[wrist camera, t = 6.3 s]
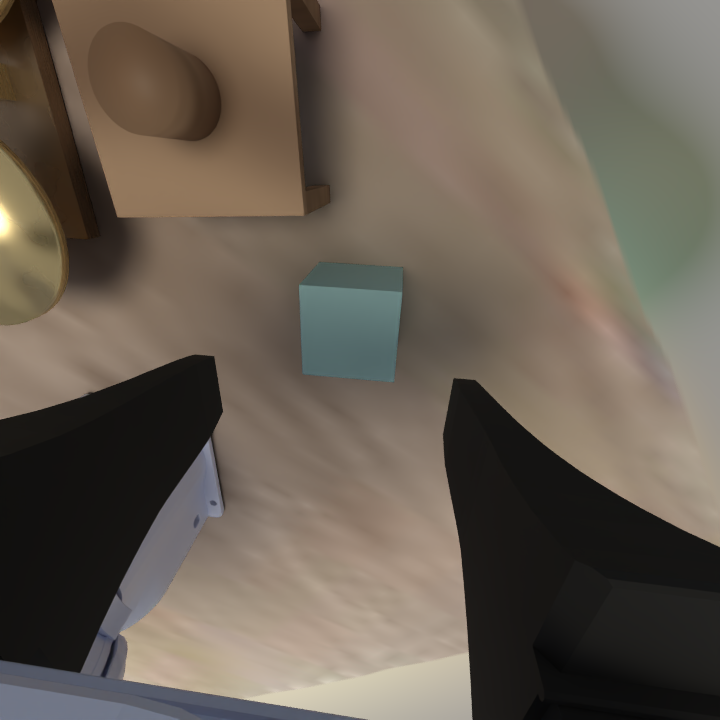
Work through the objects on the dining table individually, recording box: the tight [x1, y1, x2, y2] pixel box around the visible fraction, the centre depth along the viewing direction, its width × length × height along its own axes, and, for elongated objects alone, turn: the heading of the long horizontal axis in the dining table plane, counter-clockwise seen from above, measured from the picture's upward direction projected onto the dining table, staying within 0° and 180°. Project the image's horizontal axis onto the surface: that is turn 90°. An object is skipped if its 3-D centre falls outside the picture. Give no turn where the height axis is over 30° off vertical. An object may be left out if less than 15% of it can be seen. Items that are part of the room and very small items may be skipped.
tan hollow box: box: [52, 0, 330, 217], centre depth 12 cm, size 7×7×7 cm
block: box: [299, 262, 403, 382], centre depth 17 cm, size 4×4×4 cm
